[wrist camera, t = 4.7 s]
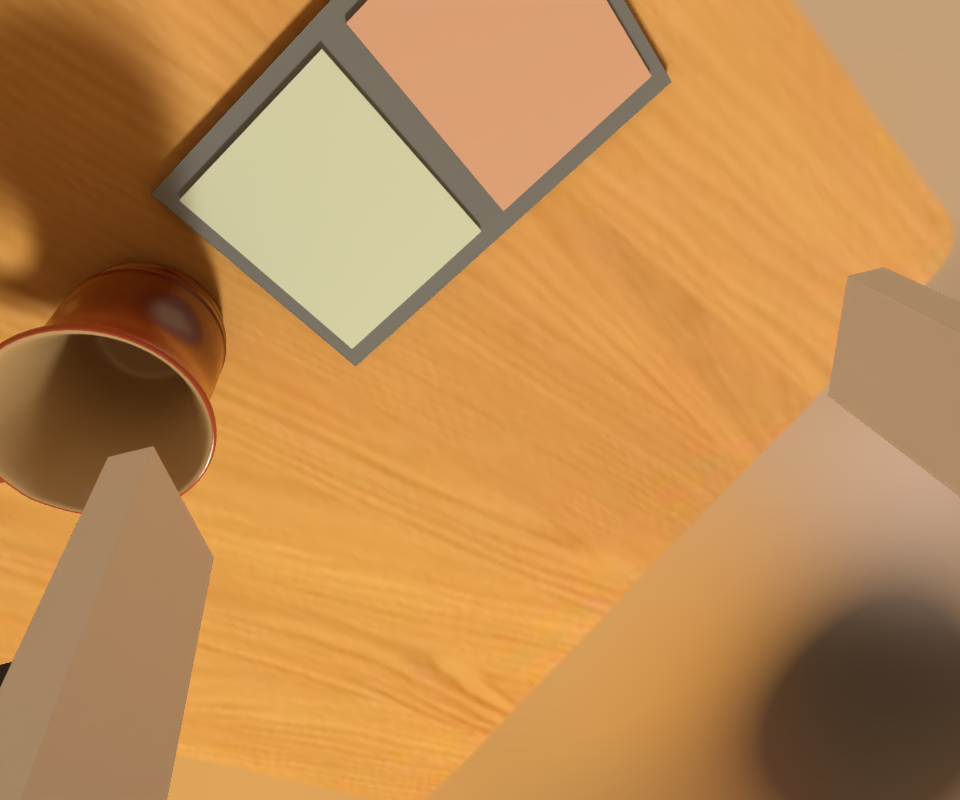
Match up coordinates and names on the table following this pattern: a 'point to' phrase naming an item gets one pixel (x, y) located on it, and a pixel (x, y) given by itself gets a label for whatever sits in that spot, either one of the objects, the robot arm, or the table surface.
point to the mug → (111, 384)
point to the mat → (406, 148)
